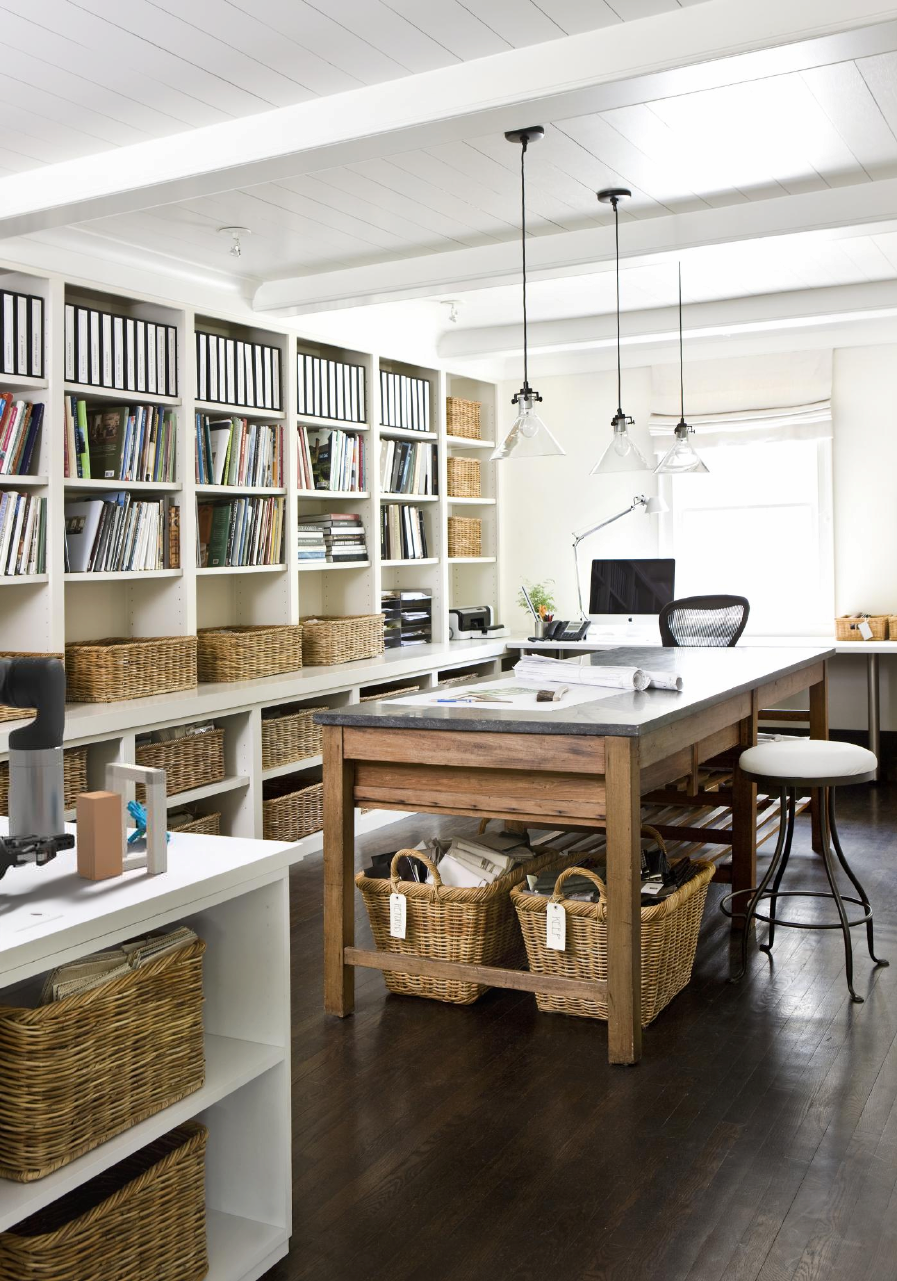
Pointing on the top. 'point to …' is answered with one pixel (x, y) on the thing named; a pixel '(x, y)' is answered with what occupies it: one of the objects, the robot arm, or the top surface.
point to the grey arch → (154, 809)
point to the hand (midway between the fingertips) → (72, 840)
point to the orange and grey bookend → (101, 837)
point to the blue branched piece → (141, 817)
